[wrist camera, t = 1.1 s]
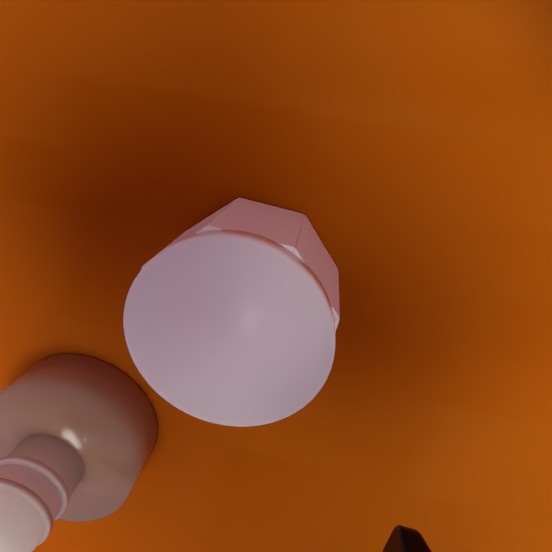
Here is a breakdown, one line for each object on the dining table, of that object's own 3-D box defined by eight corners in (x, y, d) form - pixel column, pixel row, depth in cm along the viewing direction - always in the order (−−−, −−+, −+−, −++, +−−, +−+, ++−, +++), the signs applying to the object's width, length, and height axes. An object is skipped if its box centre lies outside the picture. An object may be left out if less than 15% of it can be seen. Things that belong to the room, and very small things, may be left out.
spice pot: (150, 486, 23) (77, 635, 16) (20, 449, 23) (-102, 582, 16) (165, 377, 20) (83, 506, 13) (16, 336, 20) (-136, 444, 13)
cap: (312, 363, 18) (304, 448, 14) (170, 325, 19) (116, 396, 14) (355, 224, 16) (364, 271, 11) (190, 182, 16) (132, 211, 11)
